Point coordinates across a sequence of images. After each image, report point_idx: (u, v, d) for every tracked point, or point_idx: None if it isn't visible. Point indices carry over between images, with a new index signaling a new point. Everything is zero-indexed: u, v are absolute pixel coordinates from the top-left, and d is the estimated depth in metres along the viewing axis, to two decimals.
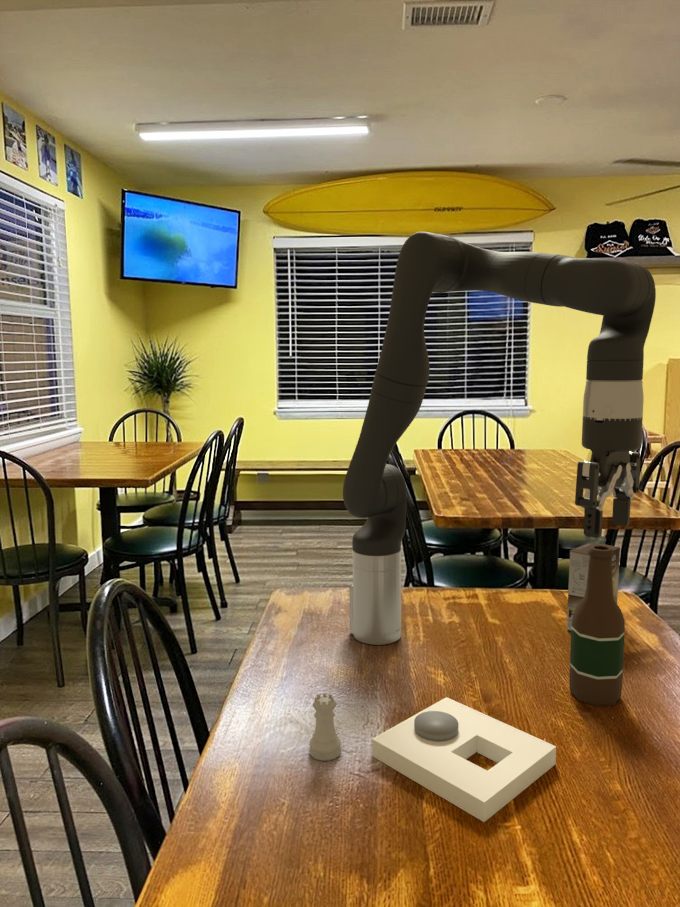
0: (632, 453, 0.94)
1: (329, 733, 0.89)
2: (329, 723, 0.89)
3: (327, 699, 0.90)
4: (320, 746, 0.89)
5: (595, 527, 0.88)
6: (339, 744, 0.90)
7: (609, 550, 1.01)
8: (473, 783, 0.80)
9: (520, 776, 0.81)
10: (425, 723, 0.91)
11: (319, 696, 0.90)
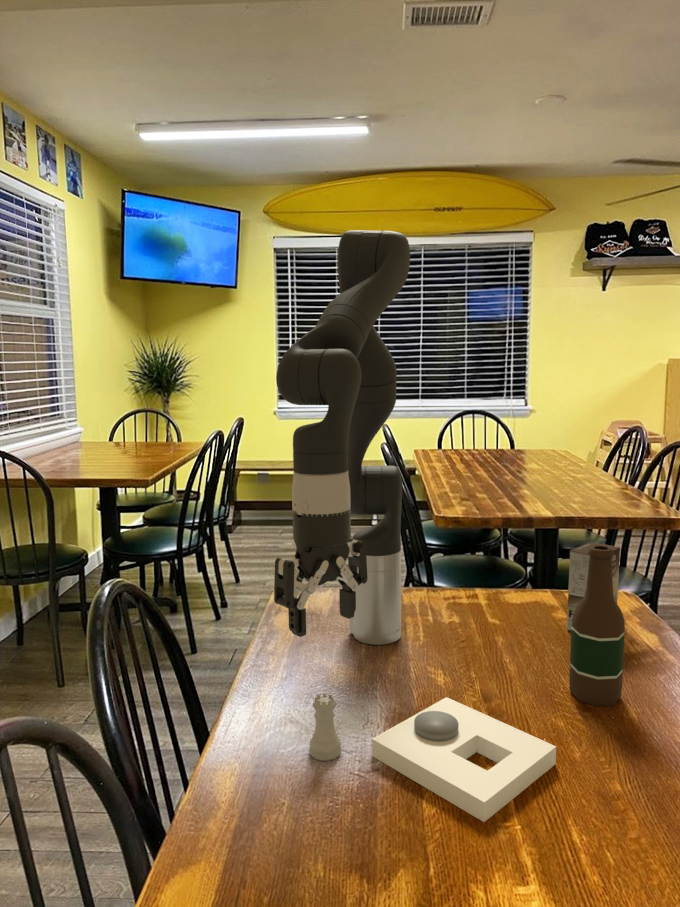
0: (356, 542, 0.90)
1: (329, 733, 0.89)
2: (329, 723, 0.89)
3: (327, 699, 0.90)
4: (320, 746, 0.89)
5: (297, 626, 0.84)
6: (339, 744, 0.90)
7: (609, 550, 1.01)
8: (473, 783, 0.80)
9: (520, 776, 0.81)
10: (425, 723, 0.91)
11: (319, 696, 0.90)
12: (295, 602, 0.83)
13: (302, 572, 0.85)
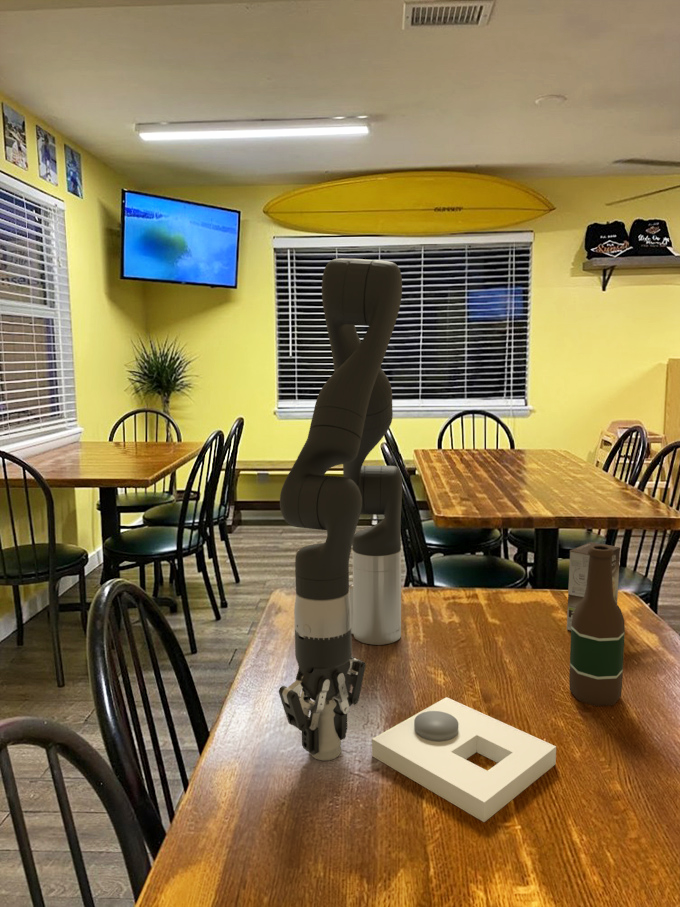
0: (357, 661, 0.92)
1: (329, 733, 0.89)
2: (329, 722, 0.89)
3: (327, 699, 0.90)
4: (320, 746, 0.89)
5: (310, 745, 0.88)
6: (339, 744, 0.90)
7: (609, 550, 1.01)
8: (473, 783, 0.80)
9: (520, 776, 0.81)
10: (425, 723, 0.91)
11: None
12: (308, 723, 0.87)
13: (307, 692, 0.88)
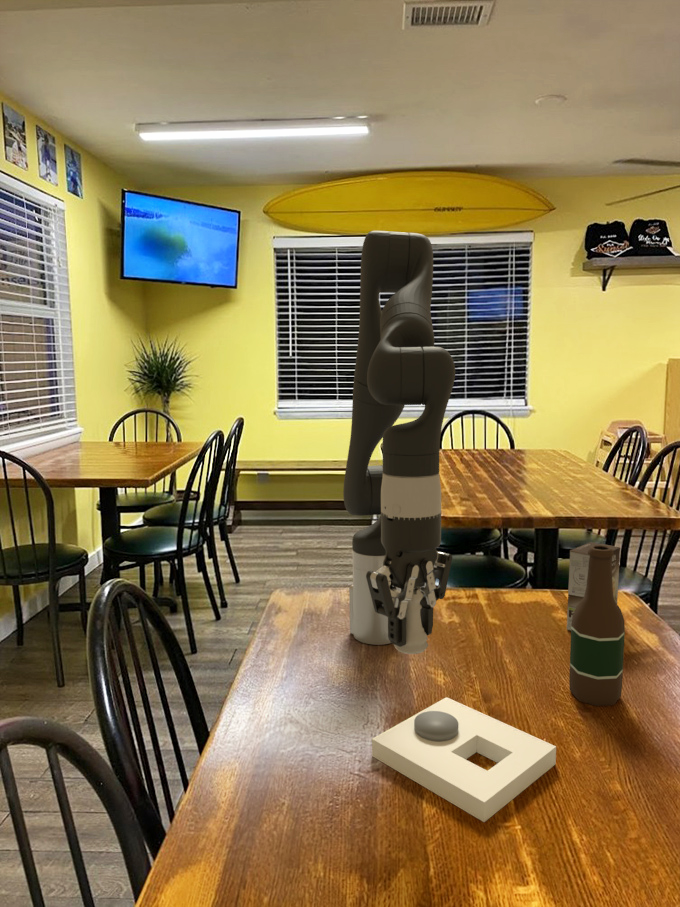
0: (444, 554, 0.87)
1: (416, 625, 0.84)
2: (416, 614, 0.84)
3: (413, 590, 0.85)
4: (407, 638, 0.84)
5: (398, 636, 0.83)
6: (426, 638, 0.85)
7: (609, 550, 1.01)
8: (473, 783, 0.80)
9: (520, 776, 0.81)
10: (425, 723, 0.91)
11: None
12: (396, 611, 0.82)
13: None
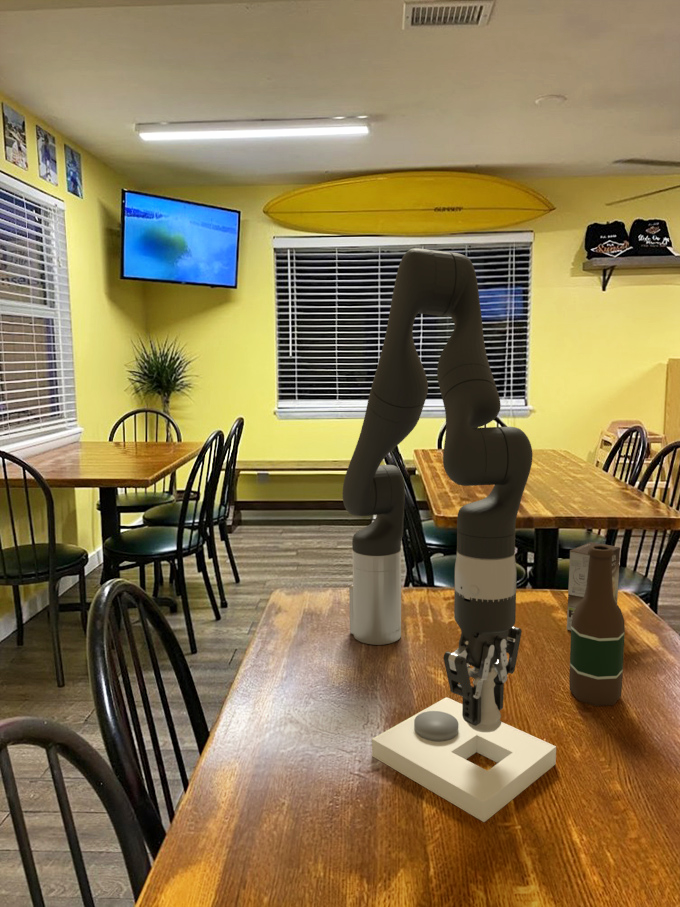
0: (513, 628, 0.87)
1: (490, 702, 0.84)
2: (490, 692, 0.84)
3: None
4: (481, 716, 0.83)
5: (473, 715, 0.82)
6: (500, 714, 0.85)
7: (609, 550, 1.01)
8: (473, 783, 0.80)
9: (520, 776, 0.81)
10: (425, 723, 0.91)
11: None
12: (472, 691, 0.82)
13: None
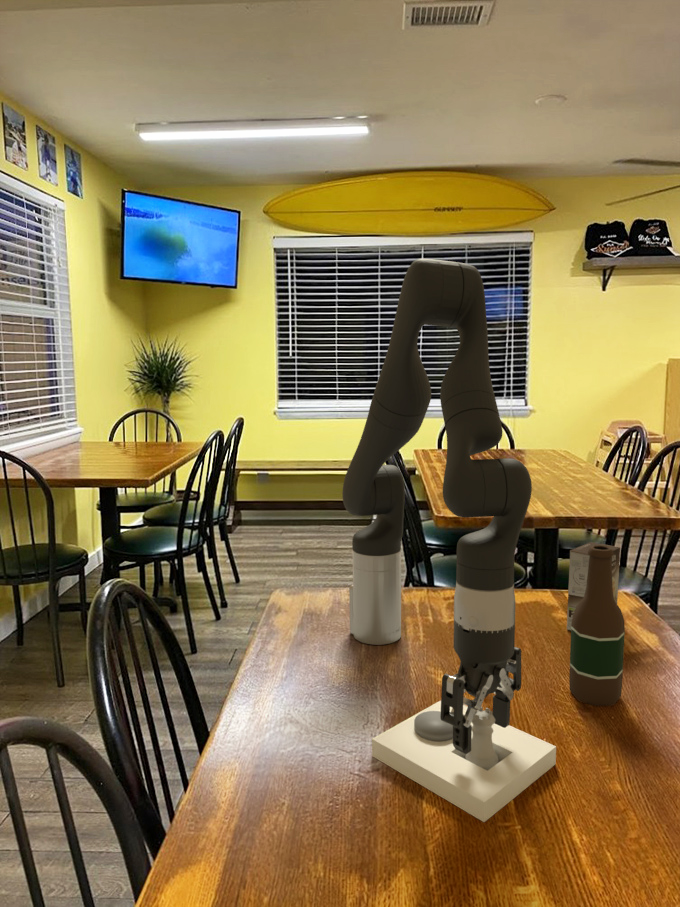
0: None
1: (488, 749, 0.85)
2: (488, 738, 0.85)
3: (485, 713, 0.85)
4: (479, 763, 0.84)
5: (463, 743, 0.82)
6: (498, 760, 0.86)
7: (609, 550, 1.01)
8: (473, 783, 0.80)
9: (520, 776, 0.81)
10: (425, 723, 0.91)
11: (476, 710, 0.86)
12: (462, 720, 0.81)
13: (465, 686, 0.83)
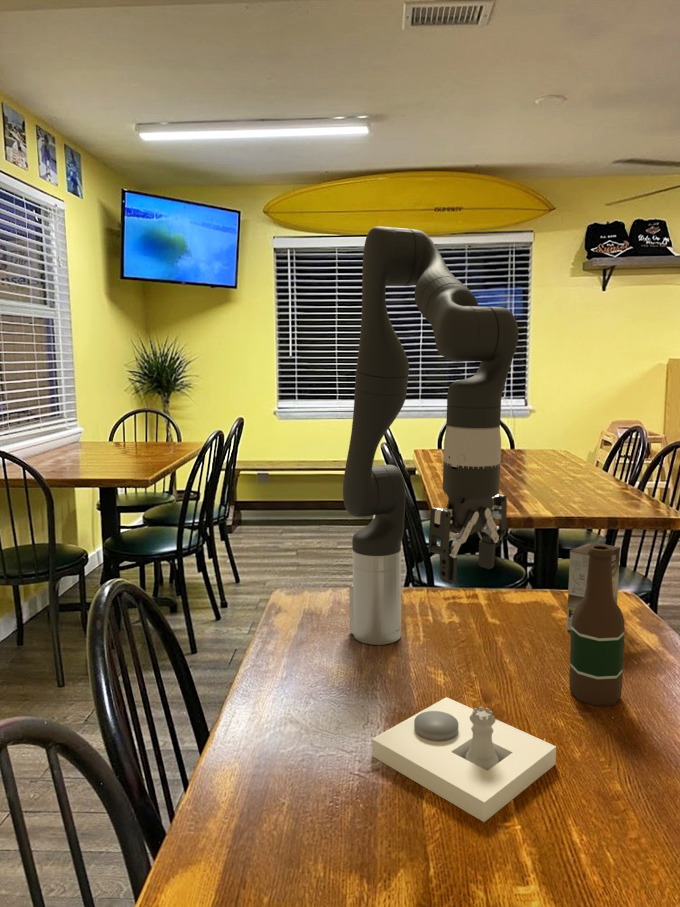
0: (498, 496, 0.93)
1: (488, 749, 0.85)
2: (488, 738, 0.85)
3: (485, 713, 0.85)
4: (479, 763, 0.84)
5: (449, 573, 0.88)
6: (498, 760, 0.85)
7: (609, 550, 1.01)
8: (473, 783, 0.80)
9: (520, 776, 0.81)
10: (425, 723, 0.91)
11: (476, 710, 0.86)
12: (448, 550, 0.87)
13: (453, 522, 0.89)
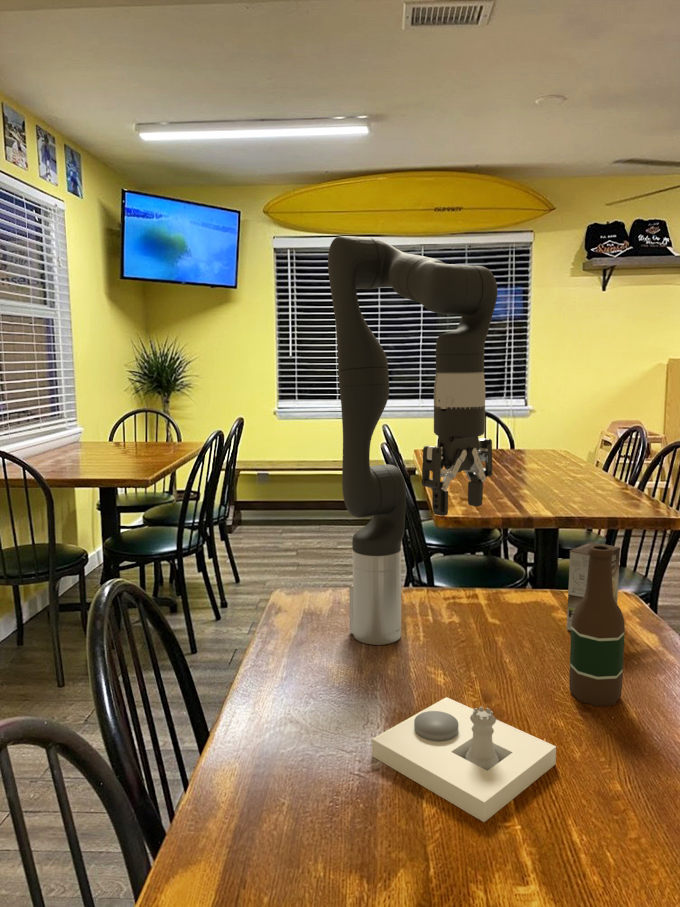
0: (484, 440, 1.03)
1: (488, 749, 0.85)
2: (488, 738, 0.85)
3: (486, 713, 0.85)
4: (479, 763, 0.84)
5: (441, 506, 0.97)
6: (498, 761, 0.85)
7: (609, 550, 1.01)
8: (473, 783, 0.80)
9: (520, 776, 0.81)
10: (425, 723, 0.91)
11: (476, 710, 0.86)
12: (440, 484, 0.96)
13: (443, 460, 0.98)
